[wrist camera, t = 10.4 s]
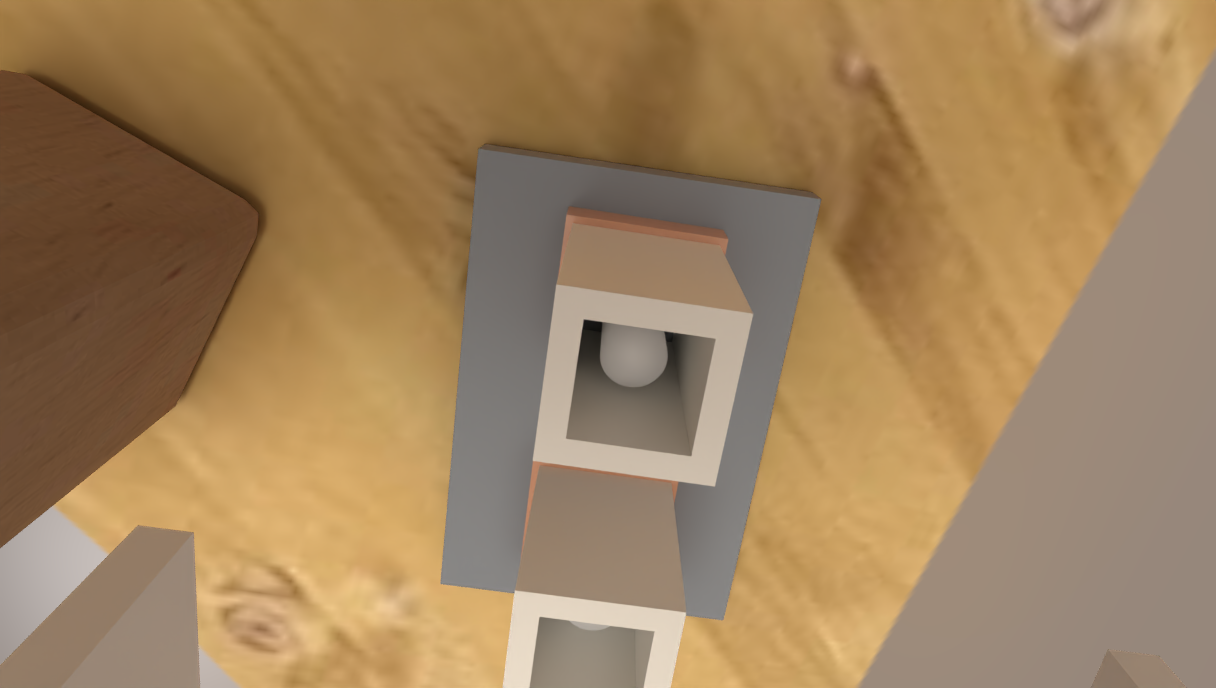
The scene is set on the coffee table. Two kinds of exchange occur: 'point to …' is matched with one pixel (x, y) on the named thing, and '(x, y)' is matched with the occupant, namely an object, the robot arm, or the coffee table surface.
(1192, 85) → the coffee table surface
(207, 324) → the wooden block
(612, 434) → the sleeve
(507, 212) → the pin board
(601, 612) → the sleeve
